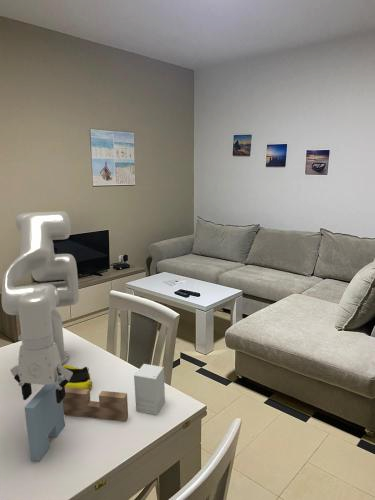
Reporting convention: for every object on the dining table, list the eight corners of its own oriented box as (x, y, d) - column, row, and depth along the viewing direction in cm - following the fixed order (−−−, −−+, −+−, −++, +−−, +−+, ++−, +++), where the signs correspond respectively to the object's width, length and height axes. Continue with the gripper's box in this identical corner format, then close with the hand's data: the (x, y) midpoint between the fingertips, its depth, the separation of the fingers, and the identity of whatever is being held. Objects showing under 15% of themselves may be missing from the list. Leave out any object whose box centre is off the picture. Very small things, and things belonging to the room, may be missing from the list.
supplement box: (165, 401, 124) (165, 366, 121) (156, 415, 117) (155, 379, 114) (145, 397, 126) (143, 362, 123) (134, 410, 119) (133, 374, 116)
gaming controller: (63, 402, 124) (94, 394, 128) (62, 387, 123) (93, 380, 126) (60, 378, 137) (88, 372, 141) (58, 364, 136) (87, 358, 140)
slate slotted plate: (57, 424, 113) (52, 376, 109) (64, 425, 113) (60, 377, 109) (30, 460, 100) (24, 407, 96) (39, 461, 99) (33, 408, 96)
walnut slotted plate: (63, 414, 118) (61, 391, 116) (67, 409, 120) (65, 387, 118) (125, 421, 114) (124, 398, 112) (128, 416, 117) (127, 393, 115)
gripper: (-2, 344, 97) (6, 404, 101) (62, 349, 94) (67, 410, 98) (16, 332, 104) (22, 387, 108) (75, 336, 101) (80, 393, 105)
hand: (44, 398), depth 103 cm, fingers open, 9 cm apart
